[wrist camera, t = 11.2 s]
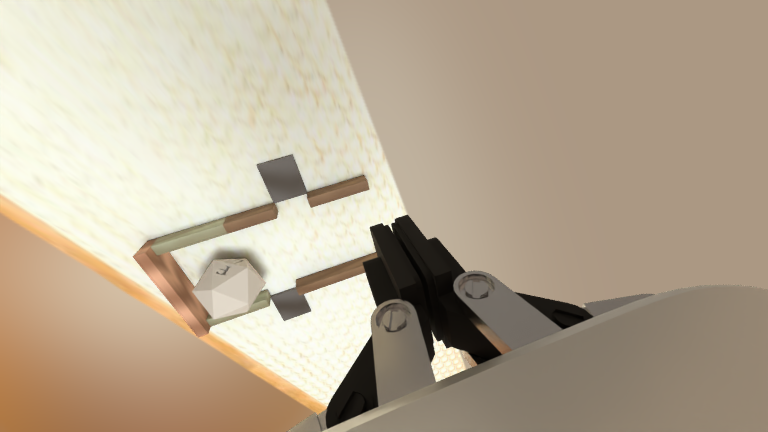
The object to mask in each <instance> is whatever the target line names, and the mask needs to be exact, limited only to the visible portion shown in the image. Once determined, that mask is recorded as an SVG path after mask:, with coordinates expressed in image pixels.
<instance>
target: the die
mask: <svg viewBox="0 0 768 432" xmlns="http://www.w3.org/2000/svg"><path fill="white" fill-rule="evenodd" d="M265 283H266V282H265V281H264V280H263V279H262V277H261V276H260V275H259V274H258V272H257V271H256V270H255V269H254V267H253V266H252V265H251V264H250V263H249V261H248V260H247V259H246V258H242V259H221V260H213V261H212V262H211V264H210V265H209V267H208V268H207V270H206V271H205V273H204V274H203V276H202V277H201V279H200V280H199V282H198V283H197V285H196V286H195V288H194V289H193V291H192V292H193V293H194V295H195V296H196V297H197V299H198V300H199V301H200V302H201V304H202V305H203V306H204V308H205V309H206V310H207V311H208V313H209V314H210V315H211V317H212V318H213V319H218V318H222V317H227V316H231V315H236V314H240V313H245V312H248V310H249V309H250V307H251V305H252V304H253V302H254V301H255V299H256V298H257V296H258V294H259V293H260V291H261V290H262V288H263V287H264V285H265Z"/></svg>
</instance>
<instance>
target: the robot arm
mask: <svg viewBox="0 0 768 432" xmlns="http://www.w3.org/2000/svg"><path fill="white" fill-rule="evenodd" d="M391 225H392V230H393V232H392V231H391V229H390V227H389V226H388V225H386V226H384V225H383V224H382V223H381V224H378V225H375V226H372V227H370V231H371V235H372V238H373V242H374V245H375V249H376V253H377V256H378V257H376V258H373V259H370V260H367V261H365V262H362V263H363V266H364V270H365V273H366V276H367V279H368V282H369V285H370V288H371V291H372V294H373V297H374V300H375V303H376V306H377V308H376V309H375V310H374V312H373V314H372V316H371V331H372V335H371V337H370V339H369V340H368V342H367V343H366V345H365V347H364V348H363V350H362V351H361V353H360V354H359V356H358V358H357V359H356V361H355V362H354V364H353V365H352V367H351V369H350V370H349V372H348V373H347V375H346V377H345V378H344V380H343V381H342V383H341V384H340V386H339V388H338V389H337V391H336V392H335V394H334V395H333V397H332V399H331V401H330V403H329V405H328V407H327V409H326V410H325V411H323V412H322V413H320V414H319V415H317V414H316V413H313V414H312V415H310V416H309V417H307V418H306V419H305V420H303V421H302V422H300V423H299V424H297V425H296V426H294V427H293V428H291V429H290V430H288V431H287V432H768V290H767V289H762V288H757V287H752V286H742V285H704V286H695V287H688V288H681V289H676V290H672V291H667V292H664V293H659V294H656V295H655V294H639V295H634V296H627V297H621V298H615V299H609V300H602V301H596V302H590V303H584V304H583V307H582V308H580V307H578V306H576V305H573V304H569V303H565V302H560V301H555V300H550V299H545V298H541V297H536V296H531V295H526V294H521V293H516V292H513V291H512V290H511V289H509V288H508V287H507V286H506V285H504V284H503V283H502V282H500V281H499V280H498V279H497V278H495V277H494V276H492V275H491V274H489V273H486V272H482V271H468V272H465V270H464V269H463V268H462V267H461V266H460V264H459V263H458V262H457V261H456V260H455V259H454V257H453V256H452V255H451V254H450V253H449V252H448V250H447V249H446V248H445V247H444V246H443V245H442V243H441V242H440V241H439V240H438V239H437V238H432V239H429V240H427V239H426V237H425V236H424V235H423V234H422V232H421V231H420V230H419V228H418V227H417V226H416V225H415V223H414V222H413V221H412V220H411V218H410V217H409V216H408V215H405V216H402V217H399V218H396V219H395V223H392V224H391ZM431 330H432V331H431ZM432 332H433V334H434V336H435V338H436V340H437V341H441V340H442V341H443V343H444V344H445V346H446V348H449V347H454V348H457V349H460V350H462V354H463V356H464V357H465V359H466V360H467V361H468V363H469V364H470V365H471V366H472V368H470V369H467V370H465V371H462V372H460V373H457V374H455V375H453V376H450V377H448V378H445V379H443V380H441V381H438V382H436V381H435V377H434V374H433V370H432V367H431V362H432V360H433V357H434V355H435V351H434V346H433V343H434V341H433V336H432Z"/></svg>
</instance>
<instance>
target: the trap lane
mask: <svg viewBox="0 0 768 432" xmlns="http://www.w3.org/2000/svg"><path fill="white" fill-rule="evenodd" d="M257 167H258V170H259V172H260V174H261V176H262V178H263V181H264V183H265V185H266V187H267V189H268V192H269V194H270V196H271V198H272V200H273V202H274V203H271V204H268V205H264V206H261V207H258V208H255V209H251V210H248V211H245V212H241V213H238V214H235V215H232V216H228V217H225V218H222V219H218V220H215V221H212V222H209V223H205V224H202V225H199V226H195V227H192V228H189V229H186V230H182V231H179V232H176V233H172V234H169V235H166V236H163V237H159V238H156V239H153V240H149V241H147V242H146V243H145V244H144V245H143V246H142V247H141V248H140V249H139V251H138V252H137V253H136V254H135V255H134V256H133V258H134V259H135V260H136V261H137V263H138V264H139V265H140V266H141V268H142V269H143V270H144V271H145V272H146V274H147V275H148V276H149V277H150V279H151V280H152V281H153V282H154V284H155V285H156V286H157V287H158V288H159V290H160V291H161V292H162V293H163V295H164V296H165V297H166V298H167V300H168V301H169V302H170V303H171V304H172V306H173V307H174V308H175V309H176V311H177V312H178V313H179V314H180V316H181V317H182V318H183V319H184V320H185V322H186V323H187V324H188V325H189V327H190V328H191V329H192V330H193V332H194V333H195V334H196V335H197V336H198V337H201V336H204V335H206V334H208V333H209V330H210V327H211V326H214V325H217V324H220V323H222V322H225V321H228V320H231V319H234V318H237V317H239V316H242V315H245V314H248V313H251V312H254V311H257V310H259V309H262V308H265V307H268V306H270V299H272V301H273V302H274V304H275V306H276V308H277V309H278V311H279V313H280V315H281V317H282V318H283V320H284V321H286V320H288V319H291V318H294V317H297V316H299V315H302V314H305V313H308V312H311V309H310V307H309V305H308V303H307V301H306V299H305V297H304V295H303V294H305V293H308V292H311V291H314V290H317V289H319V288H322V287H325V286H328V285H331V284H334V283H337V282H339V281H342V280H345V279H348V278H351V277H354V276H357V275H359V274H362V273H365V270H364V266H363V263H362V262H365V261H367V260H370V259H373V258H376V257H378V256H377V253H376V252H375V253H372V254H370V255H367V256H364V257H361V258H358V259H355V260H352V261H349V262H346V263H343V264H340V265H337V266H335V267H332V268H329V269H326V270H323V271H320V272H317V273H314V274H311V275H308V276H305V277H302V278H300V279H297V280H296V287H295V288H292V289H289V290H286V291H283V292H281V293H278V294H275V295H272V296H271V295H270V293H269V292H268V290H264V291H262V292H260V293H259V294H258V296H257V298H256V299H255V301H254V302H253V304H252V305H251V307H250V309H249V310H248V312H245V313H240V314H236V315H231V316H227V317H222V318H218V319H213V318H212V317H211V315H210V314H209V313H208V311H207V310H206V309H205V308H204V306H203V305H202V304H201V302H200V301H199V300H198V299H197V297H196V296H195V295H194V293H193V292H192V291H193V289H194V288H195V287H194V286H193V285H192V283H191V282H190V280H189V279H188V278H187V276H186V275H185V274H184V272H183V271H182V269H181V268H180V267H179V265H178V264H177V263H176V261H175V260H174V258H173V257H172V256H171V254H170V253H169V252H171V251H174V250H177V249H180V248H183V247H187V246H190V245H193V244H196V243H199V242H203V241H206V240H209V239H212V238H215V237H219V236H222V235H225V234H228V233H231V232H235V231H238V230H241V229H244V228H248V227H251V226H254V225H257V224H260V223H264V222H267V221H270V220H273V219H276V218H277V215H278V210H277V208H276V205H275V203H277V202H281V201H284V200H287V199H291V198H294V197H297V196H300V195H304V194H307V199H308V201H309V204H310V207H311V208H312V207H315V206H318V205H321V204H324V203H328V202H331V201H334V200H337V199H341V198H344V197H347V196H350V195H353V194H357V193H360V192H363V191H366V190H369V186H368V182H367V179H366V178H365V176H364V175H363V176H360V177H356V178H353V179H350V180H347V181H343V182H340V183H337V184H333V185H330V186H327V187H324V188H320V189H317V190H314V191H310V192H307V191H306V188H305V186H304V183H303V181H302V178H301V175H300V173H299V170H298V168H297V165H296V162H295V160H294V157H293V155H289V156H286V157H282V158H279V159H275V160H272V161H268V162H265V163H261V164H258V165H257Z"/></svg>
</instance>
